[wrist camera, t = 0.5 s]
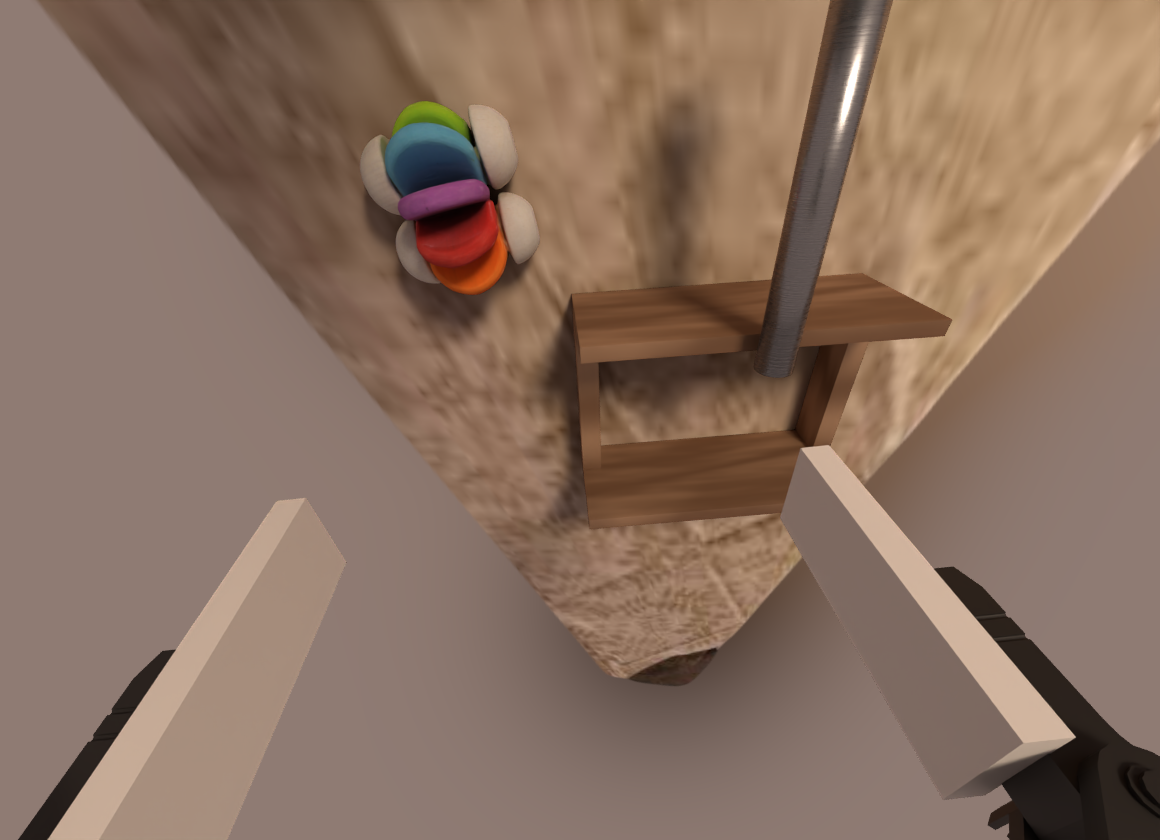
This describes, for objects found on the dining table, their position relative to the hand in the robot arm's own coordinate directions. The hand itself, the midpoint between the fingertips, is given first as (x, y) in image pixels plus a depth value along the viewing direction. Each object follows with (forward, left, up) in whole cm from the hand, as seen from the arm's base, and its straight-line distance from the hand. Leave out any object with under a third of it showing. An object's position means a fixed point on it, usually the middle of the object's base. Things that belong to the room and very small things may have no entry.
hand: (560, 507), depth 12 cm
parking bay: (+9, +12, -22) cm, 26 cm away
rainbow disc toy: (-5, -5, -22) cm, 23 cm away
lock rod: (-6, +12, -14) cm, 19 cm away
